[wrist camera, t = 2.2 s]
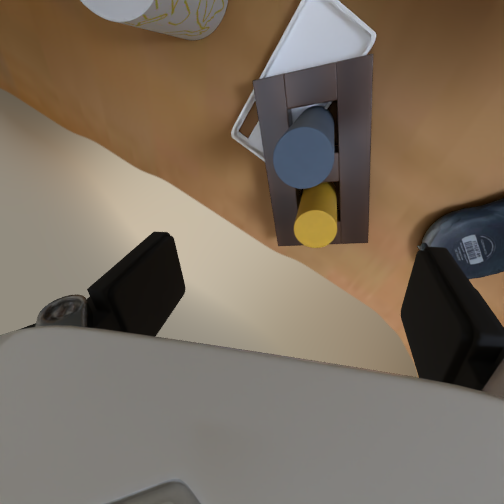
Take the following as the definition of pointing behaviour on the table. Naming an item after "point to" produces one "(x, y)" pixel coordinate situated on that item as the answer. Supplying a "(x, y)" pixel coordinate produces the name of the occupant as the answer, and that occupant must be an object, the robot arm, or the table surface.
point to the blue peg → (306, 149)
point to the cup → (164, 15)
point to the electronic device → (472, 238)
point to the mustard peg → (317, 216)
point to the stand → (345, 154)
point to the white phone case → (310, 52)
